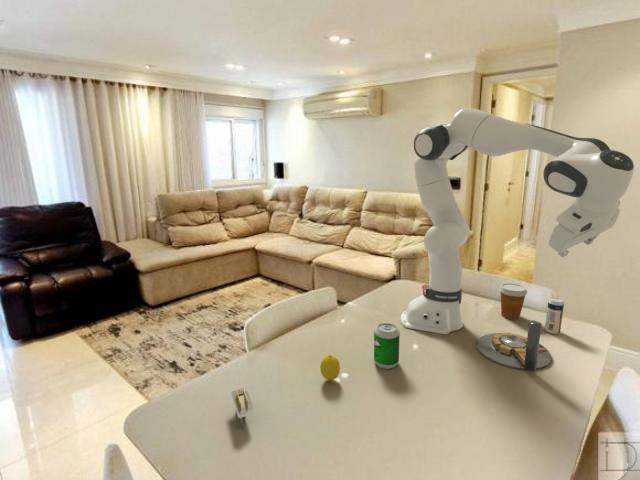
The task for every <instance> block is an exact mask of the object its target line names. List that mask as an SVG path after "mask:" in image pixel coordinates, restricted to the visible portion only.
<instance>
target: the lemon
mask: <svg viewBox="0 0 640 480" xmlns="http://www.w3.org/2000/svg"><path fill="white" fill-rule="evenodd" d="M340 371H341V365H340V361H339V360H338V358H337V357H336V356H335V355H332V354H327V355H325V356H324V357H323V358H322V360H321V362H320V374H321V376H322V377H323V378H324V379H325V380H327V381H333V380H336V379H337V378H338V377H339V375H340Z"/></svg>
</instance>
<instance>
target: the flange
mask: <svg viewBox="0 0 640 480" xmlns="http://www.w3.org/2000/svg"><path fill="white" fill-rule="evenodd" d="M501 333H502V332H491V333H487V334H483V335H481V336H480V337H479V338H478V339H477V340H476V341H477V342H476V349H477V350H478V352H479V353H480V354H481V355H482V356H483V357H484V358H486V359H487V360H489V361H491V362H493V363H496V364H497V365H501V366H504V367H506V368H509V369H516V370H522V371H523V370H525V371H528V370H527V369H525V368H524V365H523V364H522V362H521V361H520V360H519V358H518V357H516V356H514V354H513V350H512V354H511V355H507V354H505V353H502V352H500V351H499V349H495V348H494V346H493V345H492V338H493V336H494V335H496V334H500V335H501ZM511 334H512V335H513V336H503V337H501V343H502V344H503V345H506V346H509V347H511V348H524V349H525V348H526V342H525V341H524V340H523V339H521V338H518V337H515V336H514V335H515V334H513V333H511ZM526 340H527V337H526ZM551 358H552V356H551V353H550V351H549V350H548V349H547V347H545V346H544V345H542V344H541V343H539V348H538V356H537V364H536V370H539V369H540V370H541V369H544V368H546V367H547V366H549V365H550V364H551Z"/></svg>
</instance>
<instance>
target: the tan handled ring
mask: <svg viewBox="0 0 640 480" xmlns="http://www.w3.org/2000/svg"><path fill="white" fill-rule="evenodd" d="M541 331H542V323H541V322H540V321H536V320H530V321H528V330H527V336H526V337H525V336H523V335H520V334H517V333H516V334H513V333H512V332H500V333H501V335H500V334H496V335H494V336H493V338H492V345H493V346H494V348H495V349H499V351H500V352H502V353H505V354H507V355H511V354H512V350H513V354H514V356H516V357H518V358H519V360H520V361H521V362H522V364H523V365H524V368H525V369H527V370H526V371H531V372H535V371H536V370H537V369H536V364H537V356H538V348H539V344H540V339H541ZM512 334H513V335H514V336H515V337H518V338H521V339H523V340H524V341H525V342H526V348H525V349H524V348H511V347H509V346H506V345H503V344H502V343H501V337H503V336H513V335H512ZM526 338H527V340H526Z"/></svg>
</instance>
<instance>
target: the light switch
mask: <svg viewBox="0 0 640 480" xmlns="http://www.w3.org/2000/svg"><path fill="white" fill-rule="evenodd" d="M242 396H243V403H244V407H242V401H241V399H240V397H242ZM231 397H232V401H233V404H234V407H235V411H236V412H235V413H236V415H237V418H238V419H239V420H240V424H241V426H242V427H241V428H242V430H244V429H245V427H244V417H246V416H247V415H249V414H250V413H251V412H252V410H254V405H253V402H252V400H251V396H250V393H249V391H248V390H245V388H244V387H239V388H236V389H235V390H232V391H231Z"/></svg>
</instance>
